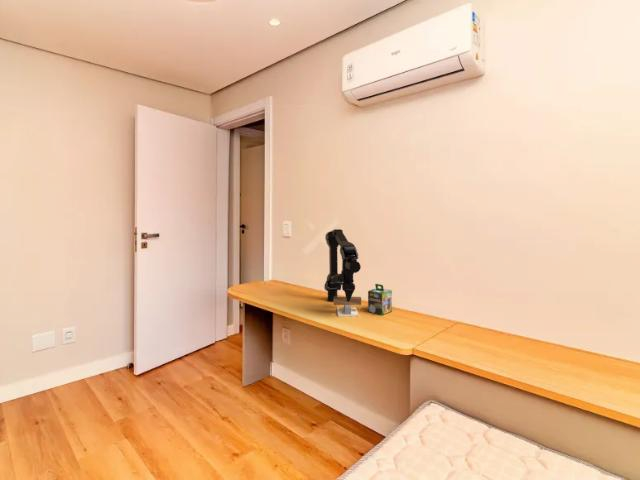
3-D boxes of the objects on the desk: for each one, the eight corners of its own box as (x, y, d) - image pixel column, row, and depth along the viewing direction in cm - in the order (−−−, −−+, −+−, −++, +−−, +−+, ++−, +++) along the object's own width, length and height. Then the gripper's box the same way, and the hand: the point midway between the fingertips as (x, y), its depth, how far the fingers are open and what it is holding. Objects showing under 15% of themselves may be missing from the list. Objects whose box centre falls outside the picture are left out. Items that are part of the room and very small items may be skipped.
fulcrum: (337, 309, 188) (337, 300, 187) (355, 309, 187) (356, 301, 187) (337, 316, 176) (338, 307, 175) (358, 316, 175) (358, 307, 175)
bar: (333, 303, 183) (333, 296, 182) (360, 303, 183) (360, 296, 182) (333, 304, 179) (333, 298, 179) (361, 305, 179) (361, 298, 179)
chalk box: (392, 311, 183) (392, 283, 182) (382, 315, 177) (382, 286, 175) (377, 308, 190) (378, 281, 188) (367, 311, 183) (367, 283, 182)
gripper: (331, 266, 189) (331, 294, 190) (332, 272, 170) (332, 304, 172) (352, 266, 189) (351, 294, 190) (355, 272, 170) (355, 304, 172)
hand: (347, 299), depth 181 cm, fingers open, 9 cm apart
